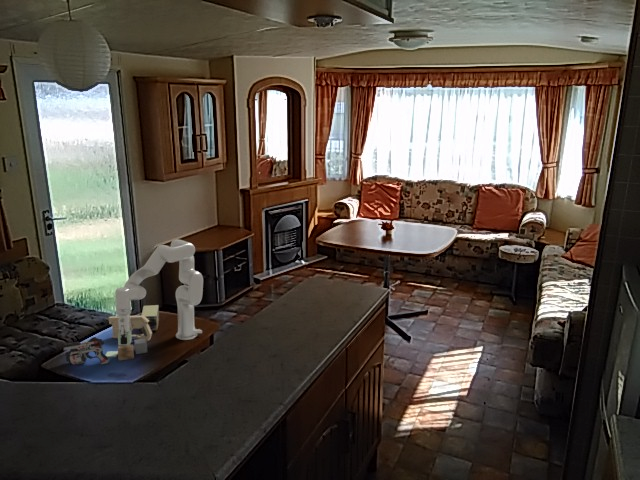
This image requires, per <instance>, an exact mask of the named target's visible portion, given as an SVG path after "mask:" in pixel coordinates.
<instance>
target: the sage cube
mask: <svg viewBox="0 0 640 480" xmlns="http://www.w3.org/2000/svg"><path fill="white" fill-rule="evenodd" d="M124 332H125V331H124ZM124 334H125V333H124ZM131 335H132V332H131V330H129V332H126V337H127V344H121V338H120V337H121V332H119V333H118V338H117V346H124V345H131V343H132V339H133V338H132V337H131Z"/></svg>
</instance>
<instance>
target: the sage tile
mask: <svg viewBox="0 0 640 480" xmlns="http://www.w3.org/2000/svg"><path fill="white" fill-rule="evenodd" d="M105 355H106V356H107V357H108V358H116V357H117V358H118V350H113V351H112V350H111V351H106V353H105Z"/></svg>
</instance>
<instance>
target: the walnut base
mask: <svg viewBox="0 0 640 480" xmlns="http://www.w3.org/2000/svg"><path fill="white" fill-rule="evenodd" d="M117 351H118V355H117V360H118V361H123V360H124V361H125V360H134V359H135V346H134V344H130V345H117Z"/></svg>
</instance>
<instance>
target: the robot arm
mask: <svg viewBox="0 0 640 480" xmlns="http://www.w3.org/2000/svg"><path fill="white" fill-rule="evenodd" d="M195 253H196V247H195V245H194V244H193V243H191V242H189V241H186V240H183V239H179V238H178V239H174V240H172V241H171V243H170V246H169V245H165V244H161V245H160V244H159V245H158V246H157V247H156V248H155V249H154V250H153V252H152V254H151V255H150V257H149V258H148V260H147V261H146V263H145V264H144V265H143V266H142V267H140V268H138V269H137V270H136V271H134V272H133V273H132V274H131V275H130V276H129V278H128V279H127V281H126V282H125V284H124V286H123V287H122V286H121V287H118V288H116V290H115V291H114V294H115V313H116V315H117V316H118V321H119V332H121V337H120V338H121V344H127V337H126V332H129V330H130V327H131V320H130V316H131V313H132V301H139V300H142V299H144V298H145V297H146V295H147V290H146V288H144V287H143V286H141V285H140V284H141V283H142V282H143V280H145V279H147V278H149V277H154V276H156V275H158V274H159V273H160V271H161V270H162V268H163V267H164V265H165V264H166V262H167V263H175V262H176V263H179V269H178V280H179V281H180V283H182V284H183V285H179V286H178V287H177V288H176V290H175V300H176V304H177V305H176V306H177V332H176V334H175V338H176V339H178V340H182V341H189V340H193V339H195V338H196V337H197V336H198V334H203V330H202V329H201V328H198V329H197V328H196V326H195V306H197V305H199V304H200V303H201V301H202V299H203V294H204V293H203V292H204V289H203V288H204V277H203V274H202V272H199V271H198V270H195V256H194V255H195ZM124 331H125V332H124ZM124 333H125V334H124Z"/></svg>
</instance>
